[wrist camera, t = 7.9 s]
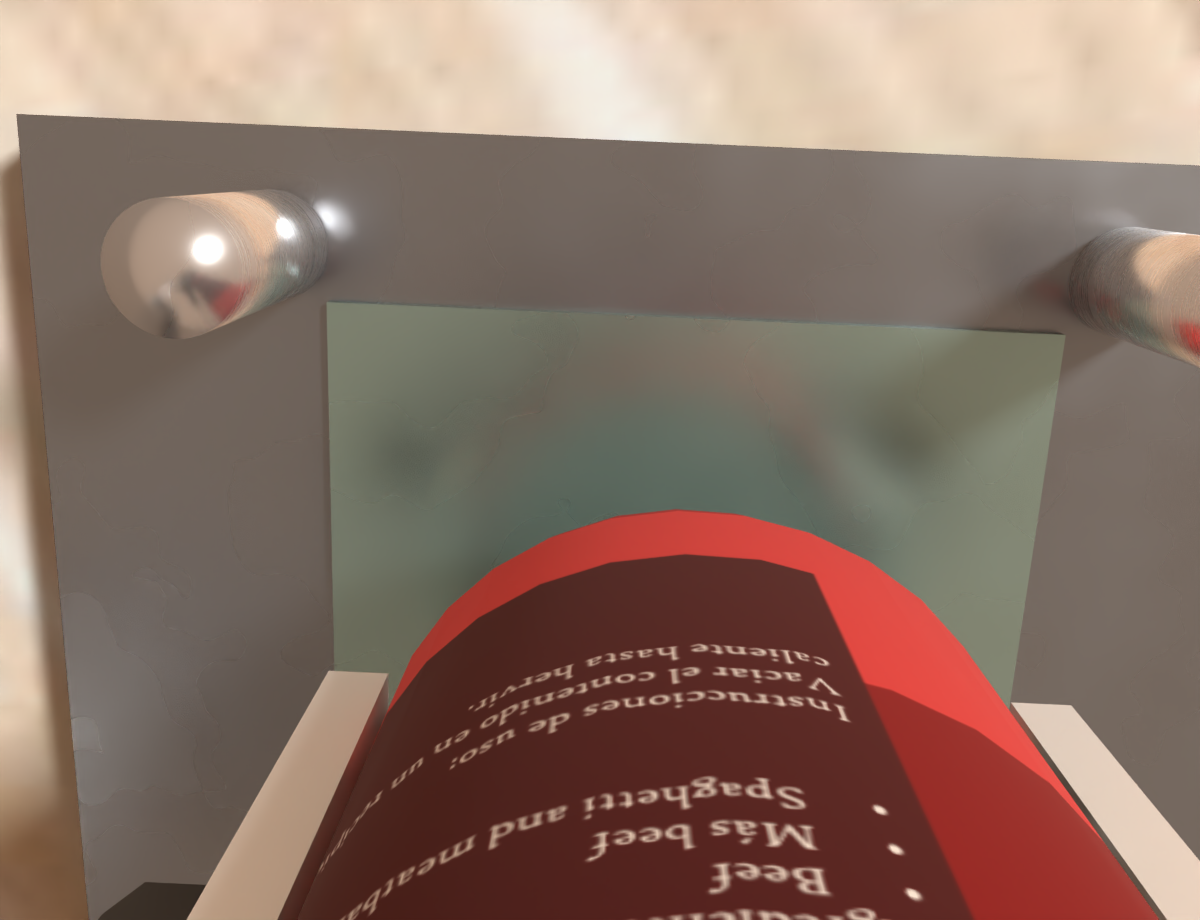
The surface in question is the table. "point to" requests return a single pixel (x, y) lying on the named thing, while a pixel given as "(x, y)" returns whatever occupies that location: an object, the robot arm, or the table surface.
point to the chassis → (587, 416)
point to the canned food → (705, 750)
